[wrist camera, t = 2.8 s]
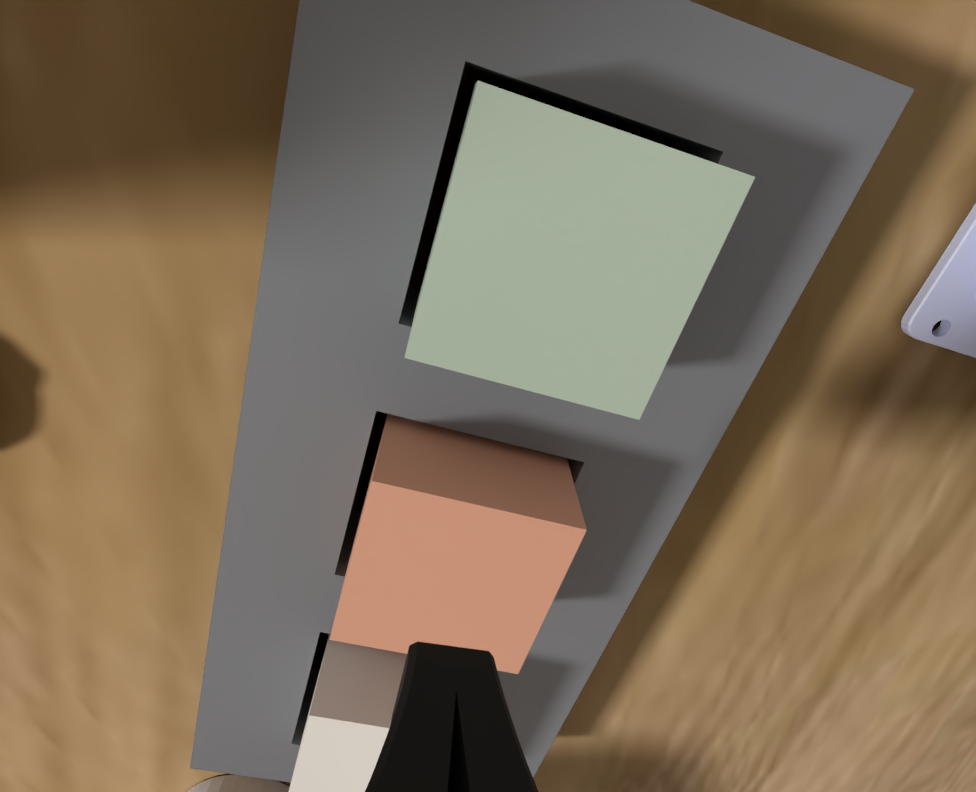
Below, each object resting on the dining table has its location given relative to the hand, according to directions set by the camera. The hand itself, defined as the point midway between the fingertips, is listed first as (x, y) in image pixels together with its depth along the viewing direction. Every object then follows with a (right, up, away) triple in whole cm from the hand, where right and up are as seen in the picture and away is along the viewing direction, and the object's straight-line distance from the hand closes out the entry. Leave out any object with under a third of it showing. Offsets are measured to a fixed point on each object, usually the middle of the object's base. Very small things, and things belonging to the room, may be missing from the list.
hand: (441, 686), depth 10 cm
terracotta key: (0, +2, +8) cm, 8 cm away
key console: (0, +3, +9) cm, 10 cm away
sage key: (+2, +9, +4) cm, 10 cm away
